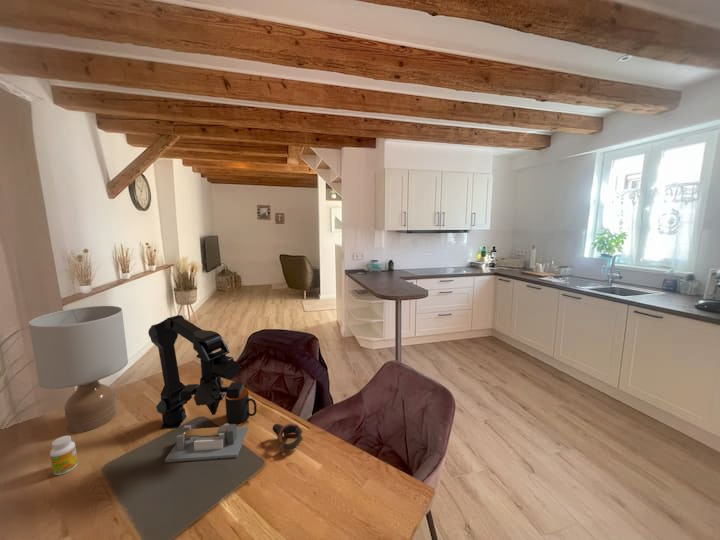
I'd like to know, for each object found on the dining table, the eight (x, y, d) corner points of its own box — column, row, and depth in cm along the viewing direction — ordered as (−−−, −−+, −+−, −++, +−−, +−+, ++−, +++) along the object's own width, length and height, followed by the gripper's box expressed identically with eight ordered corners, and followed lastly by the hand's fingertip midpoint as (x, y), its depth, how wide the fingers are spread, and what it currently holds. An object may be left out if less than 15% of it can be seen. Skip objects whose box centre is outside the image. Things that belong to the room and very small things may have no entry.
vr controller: (308, 435, 104) (308, 426, 99) (294, 463, 97) (293, 454, 92) (279, 422, 107) (278, 411, 102) (264, 447, 100) (261, 438, 95)
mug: (251, 427, 108) (250, 402, 106) (222, 423, 109) (220, 398, 108) (262, 413, 116) (261, 389, 114) (234, 410, 117) (233, 386, 116)
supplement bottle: (49, 478, 85) (44, 449, 83) (57, 465, 90) (53, 437, 88) (73, 471, 87) (69, 443, 86) (80, 458, 92) (76, 431, 91)
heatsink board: (165, 462, 91) (163, 445, 90) (185, 433, 104) (183, 418, 103) (237, 457, 94) (236, 440, 93) (247, 429, 106) (247, 414, 106)
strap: (180, 438, 96) (179, 434, 96) (184, 432, 99) (184, 428, 98) (225, 435, 97) (225, 431, 97) (228, 428, 100) (228, 425, 100)
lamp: (53, 454, 93) (33, 332, 87) (43, 423, 108) (25, 316, 101) (141, 416, 112) (130, 313, 106) (123, 394, 127) (112, 302, 120)
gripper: (167, 386, 86) (172, 432, 88) (232, 383, 88) (235, 428, 90) (185, 367, 97) (189, 410, 99) (243, 365, 99) (245, 406, 101)
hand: (214, 414), depth 97 cm, fingers closed
